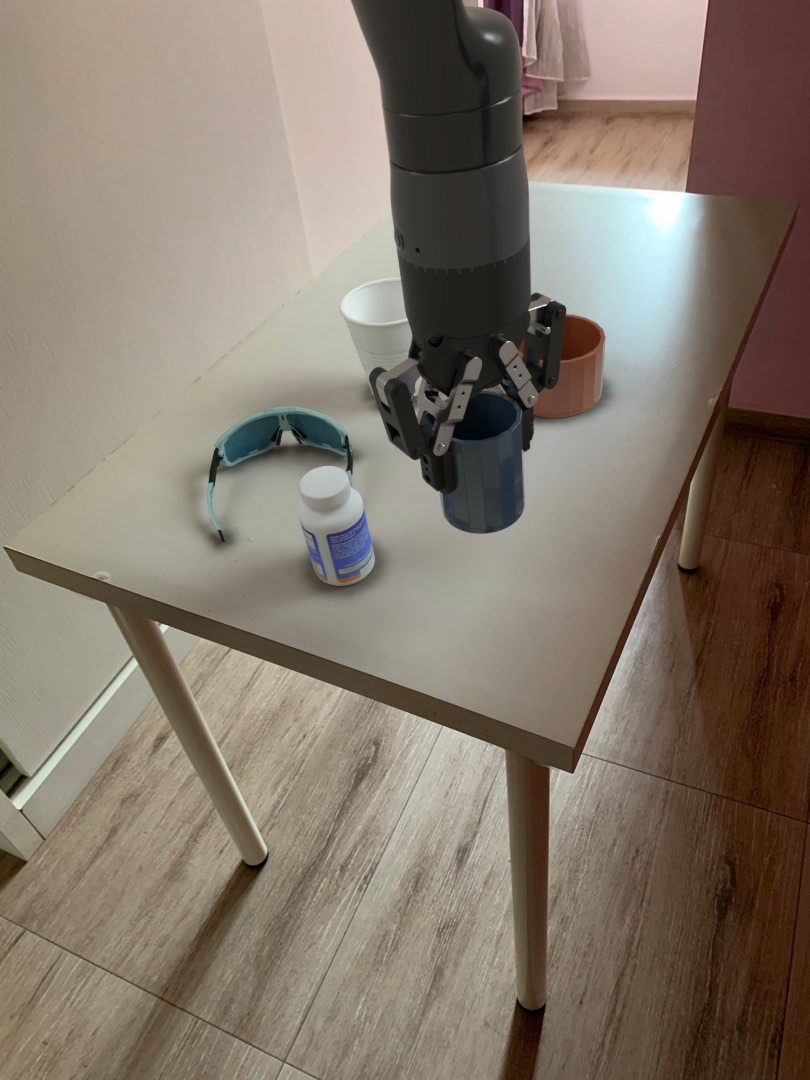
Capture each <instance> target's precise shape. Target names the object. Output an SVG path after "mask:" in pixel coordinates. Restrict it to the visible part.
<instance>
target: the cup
mask: <svg viewBox="0 0 810 1080" xmlns="http://www.w3.org/2000/svg"><path fill="white" fill-rule="evenodd" d="M338 309H339V313H340V315H341V316H342V318H343V319H344V321H345V324H346V327H347V330H348V332H349V334H350V337H351V340H352V343H353V344H354V347H355V350H356V353H357V356H358V358H359V362H360V363H361V366H362V369H363V372H364V375H365V378H366V380H367V383H368V386H369V389H370V392H371V394H372V396H373V397H374V394H373V391H372V388H371V385H370V382H369V375H370V373H371V371H372V370H373V369H374V368H376V367H382V368H384V369H385V370H387V371H389V370H391V369H393V368H394V367H396V366H397V365H399V364H400V363H402V362H404V361H405V360H407V359H408V352H409V349H410V346H411V341H412V332H411V328H410V325H409V322H408V319H407V316H406V312H405V306H404V299H403V291H402V284H401V277H400V276H395V277H384V278H378V279H374V280H371V281H367V282H364V283H362V284H360V285H358V286H355V287H354V288H352V289H350V290H349V291H348V292H346V294H344V295H343V297H342V298H341V300H340V302H339V305H338ZM421 381H422V377H421V376H420V377H419V378H418V379H417V381H416V384H415V394H416V395H418V392H419V388H420V384H421ZM416 401H417V399H416Z"/></svg>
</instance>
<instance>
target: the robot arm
mask: <svg viewBox="0 0 810 1080" xmlns="http://www.w3.org/2000/svg"><path fill="white" fill-rule="evenodd" d="M350 2H351V6H352V8H353V11H354V14H355V17H356V20H357V23H358V25H359V28H360V31H361V33H362V36H363V38H364V41H365V43H366V46H367V48H368V51H369V54H370V56H371V58H372V61H373V65H374V67H375V70H376V73H377V76H378V81H379V89H380V90H379V91H380V100H381V108H382V116H383V123H384V130H385V137H386V138H385V139H386V145H387V153H388V159H389V179H390V180H389V194H390V195H389V196H390V197H389V198H390V199H389V201H390V211H391V218H392V225H393V226H392V227H393V236H394V237H393V239H394V243H395V247H396V248H395V249H396V254H397V262H398V269H399V277H401V284H402V291H403V299H404V306H405V312H406V316H407V319H408V322H409V325H410V328H411V332H412V341H411V346H410V349H409V352H408V359H407V360H405V361H404V362H402V363H400V364H399V365H397V366H396V367H394V368H393V369H391V370H389V371H387V370H385V369H384V368H382V367H376V368H374V369H373V370H372V371H371V373H370V375H369V382H370V385H371V388H372V391H373V394H374V396H373V398H374V399H375V402H376V406H377V408H378V411H379V412H378V413H379V415H380V418H381V420H382V423H383V427H384V430H385V432H386V436H387V439H388V441H389V442H390V443H391V444H392V445H393V446H395V447H396V448H397V449H398V450H400V451H401V452H402V453H403V454H405V455H406V456H407V457H409V458H410V459H411V460H413V461H417V460H419V464H420V469H421V476H422V479H423V481H424V482H425V483H426V484H427V485H428V486H430V487H431V488H432V489H434V491H436V492H439V491H440V492H441V493H442V494H444V495H445V496H446V495H448V494H450V493H452V492H453V491H455V480H454V471H453V461H452V452H451V450H450V449H449V445H450V441H451V438H452V435H453V431H454V428H455V425H456V424H457V423H460V422H462V420H463V417H464V414H465V411H466V407H467V404H468V401H469V400H470V399H472V398H474V397H475V396H476V395H478V394H479V393H480V392H481V391H485V390H488V389H493V388H495V387H499V388H500V390H501V391H502V394H505V395H507V396H509V397H510V398H512V399H514V400H515V401H516V402H517V403H518V405H519V407H520V408H521V410H522V422H523V451H524V453H525V452H527V451H529V450H531V441H533V438H534V434H535V427H534V426H535V422H534V419H535V418H534V417H535V415H534V414H533V406H534V405H535V404H536V403H537V401H538V397H539V395H538V394H539V393H540V392H541V391H542V390H543V389H544V388H546V389H552V388H554V387H555V385H556V384H557V382H558V379H559V370H560V362H561V353H562V344H563V336H564V327H565V319H566V314H567V307H566V305H565V304H563V303H561V302H559V301H557V300H555V299H553V298H551V297H549V296H547V295H544V294H542V293H540V292H533V293H532V270H531V269H532V268H531V267H532V266H531V221H530V220H531V217H530V216H531V215H530V213H531V212H530V186H529V178H528V177H529V176H528V170H527V164H526V159H525V158H526V157H525V151H524V148H525V147H524V124H523V123H524V121H523V118H524V117H523V86H522V83H523V81H522V60H521V49H520V47H521V46H520V41H519V35H518V32H517V31H516V28H515V26H514V24H513V22H512V21H511V20H510V18H509V17H507V16H506V15H505V14H503V13H502V12H500V11H498V10H496V9H493V8H490V7H489V8H488V7H482V6H467V5H465V4H464V0H350ZM523 339H524V348H523V360H521V358H520V356H519V352H518V350H519V348H520V346H521V343H522V341H523ZM540 354H541V355H542V357H543V363H542V365H540ZM420 376H421V377H422V381H421V384H420V388H419V392H418V395H416V394H415V384H416V381H417V379H418V378H419V377H420ZM372 391H371V392H372ZM440 393H441V394H443V395H444V396H445V397H447V399H448V398H449V399H448V403H447V402H445V401H444V400H445V399H443V398H441V395H440ZM373 394H372V395H373ZM416 399H417V400H416ZM414 402H416V404H417V406H418V412H416V409H415V406H414ZM416 413H417V414H416ZM435 418H436V420H437V423H436V427H435V430H433V425H434V422H435ZM440 492H439V493H440Z"/></svg>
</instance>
